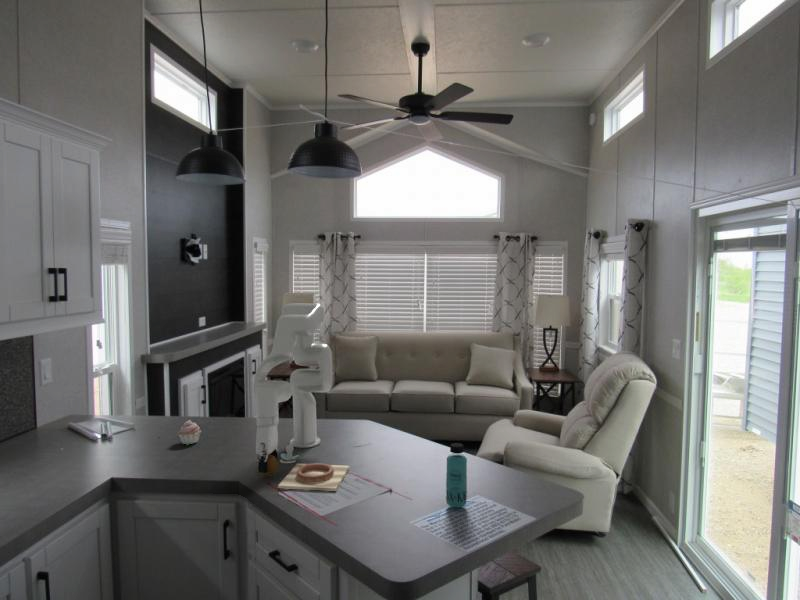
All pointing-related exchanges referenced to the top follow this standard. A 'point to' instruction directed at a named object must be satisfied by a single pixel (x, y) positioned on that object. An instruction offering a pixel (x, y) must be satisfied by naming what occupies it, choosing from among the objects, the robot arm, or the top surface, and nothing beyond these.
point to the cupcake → (189, 433)
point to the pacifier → (288, 455)
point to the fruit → (271, 465)
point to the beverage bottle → (456, 477)
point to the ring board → (317, 485)
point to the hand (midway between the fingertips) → (268, 467)
